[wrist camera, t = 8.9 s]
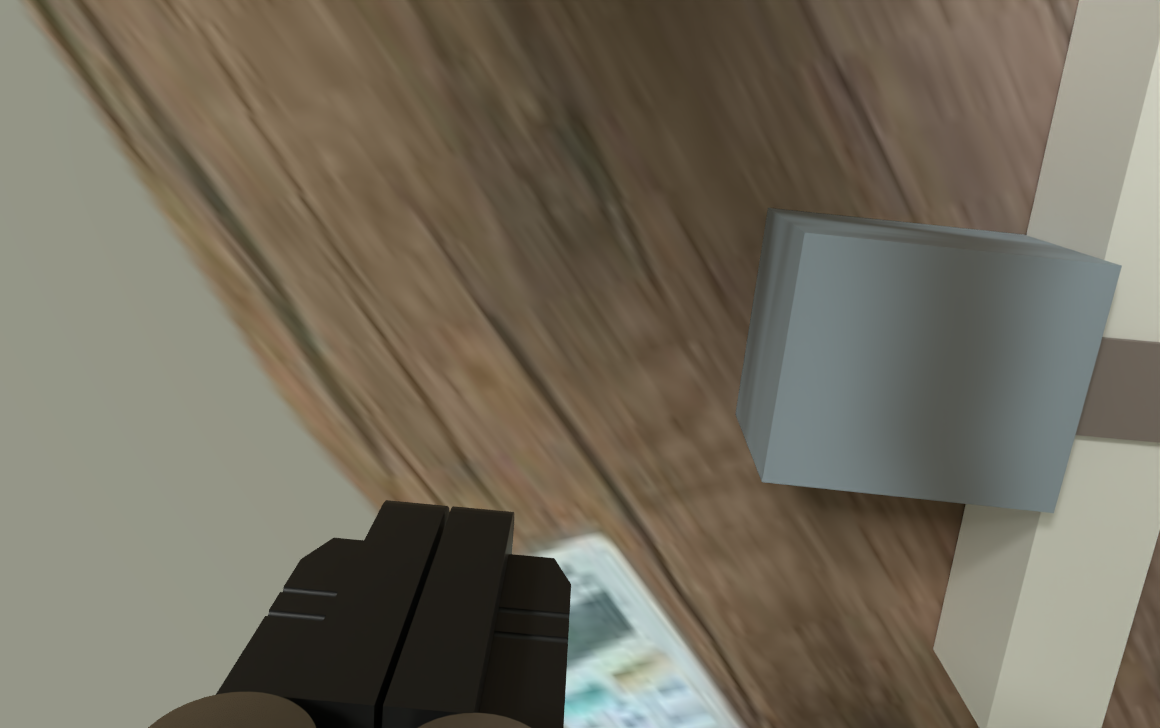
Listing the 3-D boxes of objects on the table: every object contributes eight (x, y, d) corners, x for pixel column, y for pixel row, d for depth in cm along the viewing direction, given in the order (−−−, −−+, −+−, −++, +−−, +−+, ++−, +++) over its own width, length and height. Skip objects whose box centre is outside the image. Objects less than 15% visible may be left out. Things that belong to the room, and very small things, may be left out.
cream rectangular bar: (931, 649, 28) (985, 741, 24) (1087, -46, 22) (1192, -78, 18) (1030, 658, 28) (1101, 752, 24) (1211, -35, 22) (1344, -65, 18)
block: (734, 412, 26) (762, 481, 21) (767, 207, 24) (804, 232, 20) (972, 437, 26) (1053, 512, 21) (1021, 234, 24) (1122, 265, 20)
